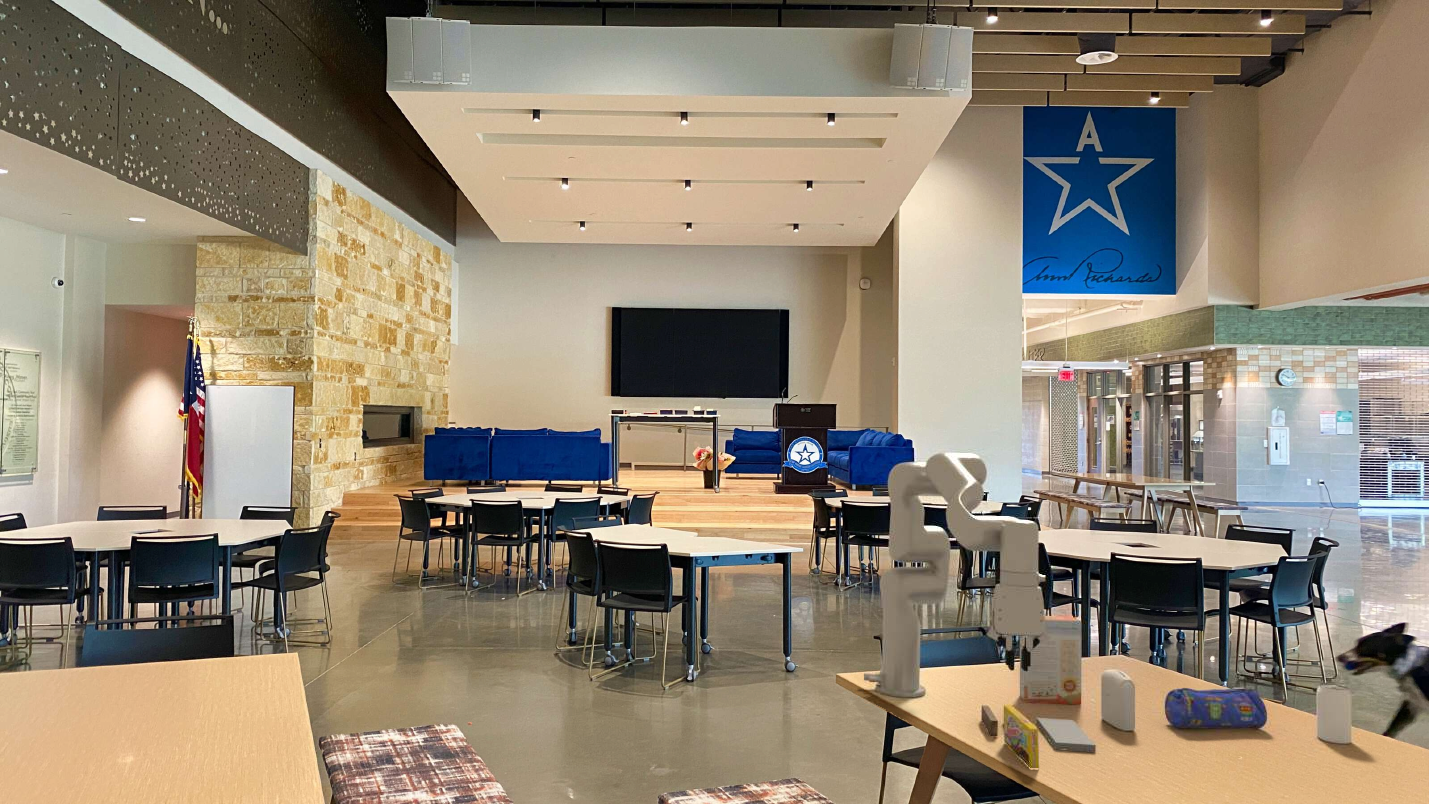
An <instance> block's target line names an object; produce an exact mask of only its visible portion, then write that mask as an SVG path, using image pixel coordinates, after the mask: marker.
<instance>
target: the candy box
mask: <svg viewBox="0 0 1429 804" xmlns="http://www.w3.org/2000/svg"><path fill="white" fill-rule="evenodd" d="M1003 739H1004V742H1005V743H1006V744H1007V745H1008V746H1009V747H1010V748H1011V749H1012V750H1011V749H1010V748H1009V747H1008V746H1007V745H1006V744H1005V743H1004V744H1005V745H1006V746H1007V747H1008V748H1009V749H1010V750H1011V752H1012V753H1013V754H1014V753H1015V754H1016V755H1017V756H1018V757H1020V758H1021V759H1022V760H1023V761H1024V762H1025V763H1026V764H1027V765H1028V766H1029V767H1030V768H1039V769H1040V759H1039V757H1040V751H1039V750H1040V749H1039V747H1040V746H1039V727H1038V726H1036V725H1035V724H1034V723H1033V722H1031V721H1030V720H1029V719H1028V718H1027V717H1026V716H1025V715H1023V714H1022V713H1021V712H1020V711H1018V710H1017V708H1015V706H1013V705H1011V704H1008V705H1005V704H1004V705H1003ZM1015 754H1014V755H1015ZM1016 755H1015V756H1016ZM1018 757H1017V758H1018Z"/></svg>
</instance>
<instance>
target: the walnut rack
mask: <svg viewBox="0 0 1429 804" xmlns="http://www.w3.org/2000/svg"><path fill="white" fill-rule="evenodd" d="M996 717H997V716H995V714H994V712H993V710H992V709H991V708H990V706H989V705H983V704H982V705H981V718H980V719H981V720H982V721H981V722H983V723H984V724H983V723H982V724H983V726H984V725H985V726H984V728H985V727H986V728H987V730H988V731H987V730H986V731H987V733H988V732H989V733H988V735H989V734H990V735H989V737H990V736H998V735H999V729H998V728H999V727H998V726H999V720H998V718H996ZM986 728H985V729H986Z"/></svg>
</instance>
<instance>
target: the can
mask: <svg viewBox="0 0 1429 804" xmlns="http://www.w3.org/2000/svg"><path fill="white" fill-rule="evenodd" d="M1316 737H1317V738H1318V739H1319V740H1321V741H1323V742H1326V743H1331V744H1334V743H1335V745H1349V744H1350V743H1351V742H1352V693H1351V692H1350V687H1348V686H1346V685H1343V684H1339V683H1334V682H1320V683H1318V688H1317V689H1316ZM1348 743H1349V744H1348Z"/></svg>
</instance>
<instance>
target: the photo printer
mask: <svg viewBox="0 0 1429 804" xmlns="http://www.w3.org/2000/svg"><path fill="white" fill-rule="evenodd" d="M1100 678H1101V683H1100V687H1101V688H1100V689H1101V692H1100V694H1101V695H1100V696H1101V697H1100V698H1101V699H1100V700H1101V703H1100V706H1101V709H1100V712H1101V713H1100V715H1101V719H1102V720H1103V721H1105V722H1106V723H1108V724H1109V725H1111V726H1112V727H1115V729H1117V730H1121V731H1123V732H1131V731H1132V732H1133V731H1134V730H1135V729H1136V685H1135V683H1134V681H1133V680H1132V678H1131V677H1130V676H1129V675H1127V673H1125V672H1123V671H1122V670H1119V669H1107V670H1104V671H1103V673H1102V674H1101V677H1100Z"/></svg>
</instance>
